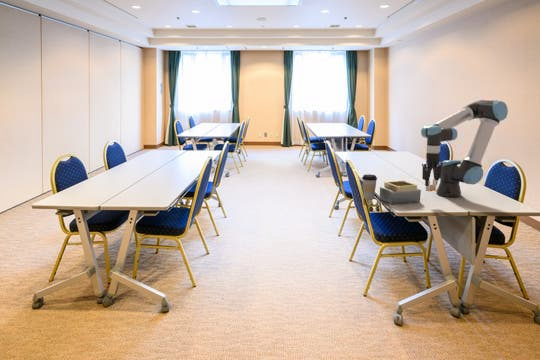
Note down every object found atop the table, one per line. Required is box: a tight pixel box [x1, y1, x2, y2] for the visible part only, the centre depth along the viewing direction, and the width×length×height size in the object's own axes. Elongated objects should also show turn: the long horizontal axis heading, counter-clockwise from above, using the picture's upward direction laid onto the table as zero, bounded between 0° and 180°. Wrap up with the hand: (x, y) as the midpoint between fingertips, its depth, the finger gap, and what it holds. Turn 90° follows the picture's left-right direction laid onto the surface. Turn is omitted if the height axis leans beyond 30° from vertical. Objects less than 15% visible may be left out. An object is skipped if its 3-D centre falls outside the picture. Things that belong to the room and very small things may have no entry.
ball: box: [430, 184, 435, 192], centre depth 262 cm, size 4×4×4 cm
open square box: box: [378, 180, 422, 206], centre depth 272 cm, size 20×14×11 cm
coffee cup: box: [361, 174, 378, 201], centre depth 276 cm, size 9×9×15 cm
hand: (430, 190), depth 262 cm, fingers closed on ball, 4 cm apart
